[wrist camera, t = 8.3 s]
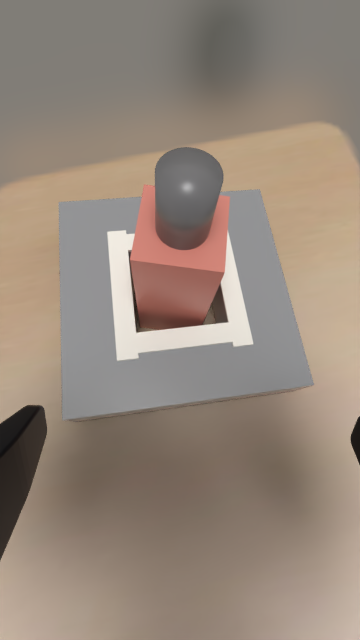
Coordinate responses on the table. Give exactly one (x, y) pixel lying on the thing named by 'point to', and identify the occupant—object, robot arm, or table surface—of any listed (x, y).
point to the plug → (180, 241)
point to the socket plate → (179, 343)
